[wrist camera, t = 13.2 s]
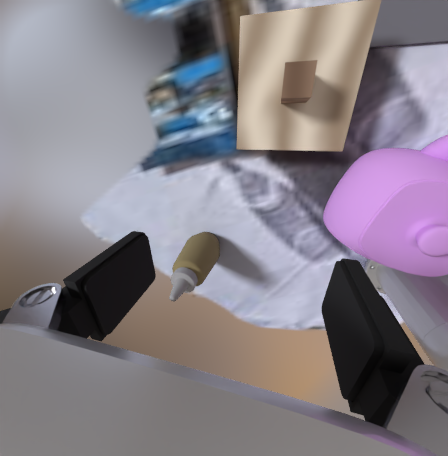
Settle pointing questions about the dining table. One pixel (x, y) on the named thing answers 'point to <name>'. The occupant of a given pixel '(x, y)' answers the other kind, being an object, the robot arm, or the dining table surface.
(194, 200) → the dining table surface
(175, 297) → the squeeze bottle
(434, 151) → the teapot
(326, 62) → the lid
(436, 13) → the mat
